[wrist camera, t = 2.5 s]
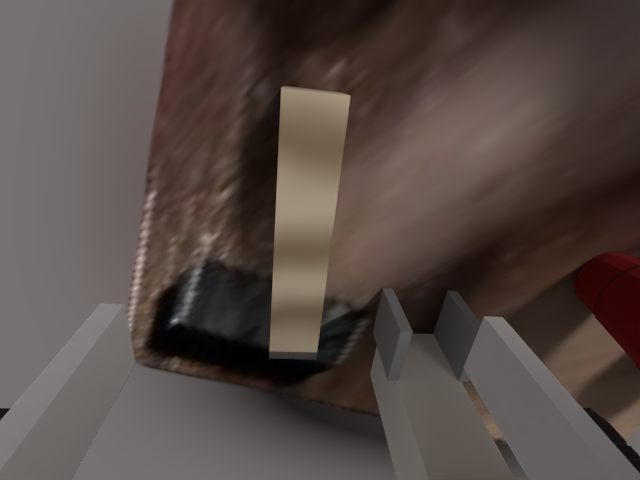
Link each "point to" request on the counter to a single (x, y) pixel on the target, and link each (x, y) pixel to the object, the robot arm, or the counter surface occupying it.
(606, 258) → the plastic cup
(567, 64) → the counter surface
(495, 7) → the counter surface
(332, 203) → the rail
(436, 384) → the grey forked bracket
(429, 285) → the counter surface
